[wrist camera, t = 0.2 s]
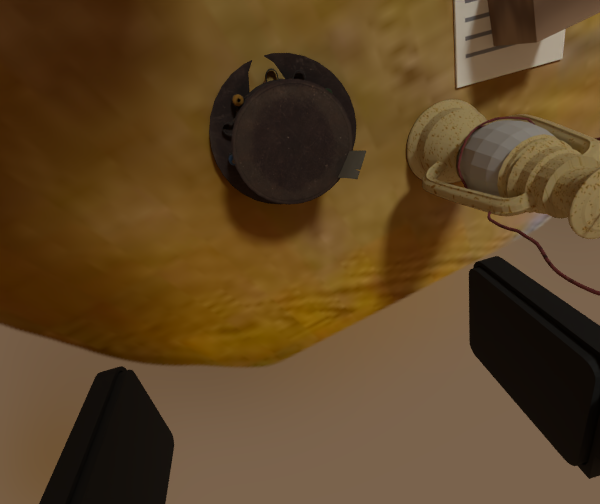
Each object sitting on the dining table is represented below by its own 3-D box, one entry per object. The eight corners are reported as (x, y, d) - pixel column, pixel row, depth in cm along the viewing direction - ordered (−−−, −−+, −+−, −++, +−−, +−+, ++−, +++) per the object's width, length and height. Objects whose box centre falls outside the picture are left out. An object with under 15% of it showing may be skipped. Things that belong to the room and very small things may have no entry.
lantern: (418, 208, 45) (689, 410, 18) (380, 142, 40) (668, 281, 14) (505, 149, 43) (940, 275, 17) (476, 72, 39) (1007, 79, 12)
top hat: (243, 221, 42) (247, 263, 33) (183, 84, 35) (166, 90, 26) (366, 175, 42) (404, 204, 33) (331, 29, 35) (366, 15, 26)
